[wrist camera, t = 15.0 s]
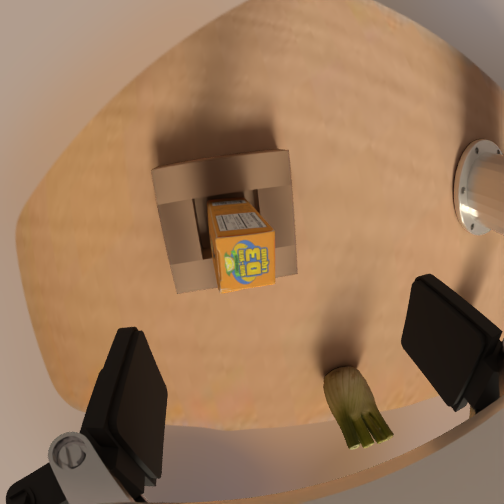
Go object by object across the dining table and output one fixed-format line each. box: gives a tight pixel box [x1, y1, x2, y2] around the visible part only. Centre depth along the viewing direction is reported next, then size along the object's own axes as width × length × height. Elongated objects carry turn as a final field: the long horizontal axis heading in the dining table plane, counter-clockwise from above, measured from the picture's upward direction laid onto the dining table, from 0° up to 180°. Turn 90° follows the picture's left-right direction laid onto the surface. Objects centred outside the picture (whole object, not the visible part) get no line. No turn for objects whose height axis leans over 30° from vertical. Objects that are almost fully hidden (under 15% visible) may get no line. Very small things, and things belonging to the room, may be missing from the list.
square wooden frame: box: [151, 149, 298, 294], centre depth 24 cm, size 10×10×4 cm
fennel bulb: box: [323, 366, 394, 449], centre depth 29 cm, size 6×5×12 cm
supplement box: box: [207, 198, 275, 294], centre depth 19 cm, size 3×3×10 cm
